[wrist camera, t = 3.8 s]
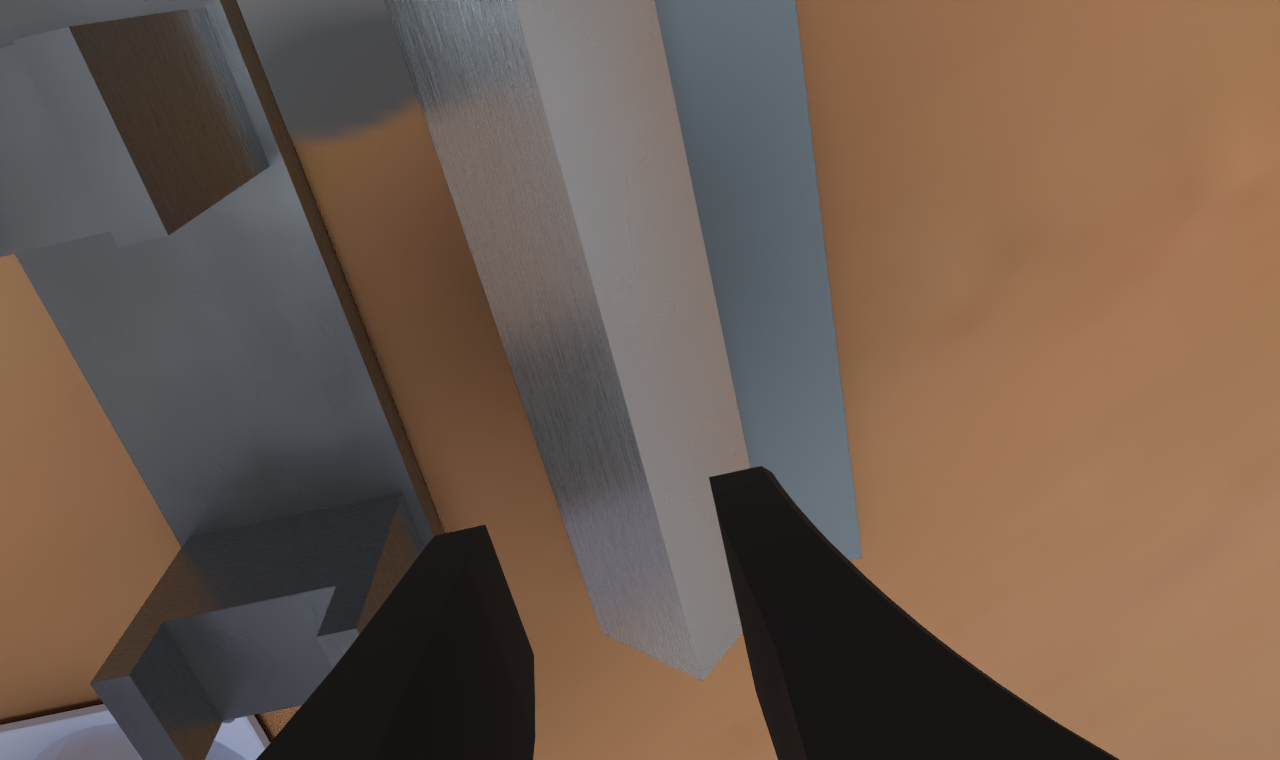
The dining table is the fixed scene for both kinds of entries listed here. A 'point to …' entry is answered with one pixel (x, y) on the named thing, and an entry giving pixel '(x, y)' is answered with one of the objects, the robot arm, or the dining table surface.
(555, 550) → the dining table surface
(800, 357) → the mat
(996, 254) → the dining table surface
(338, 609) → the rack
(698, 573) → the rail
